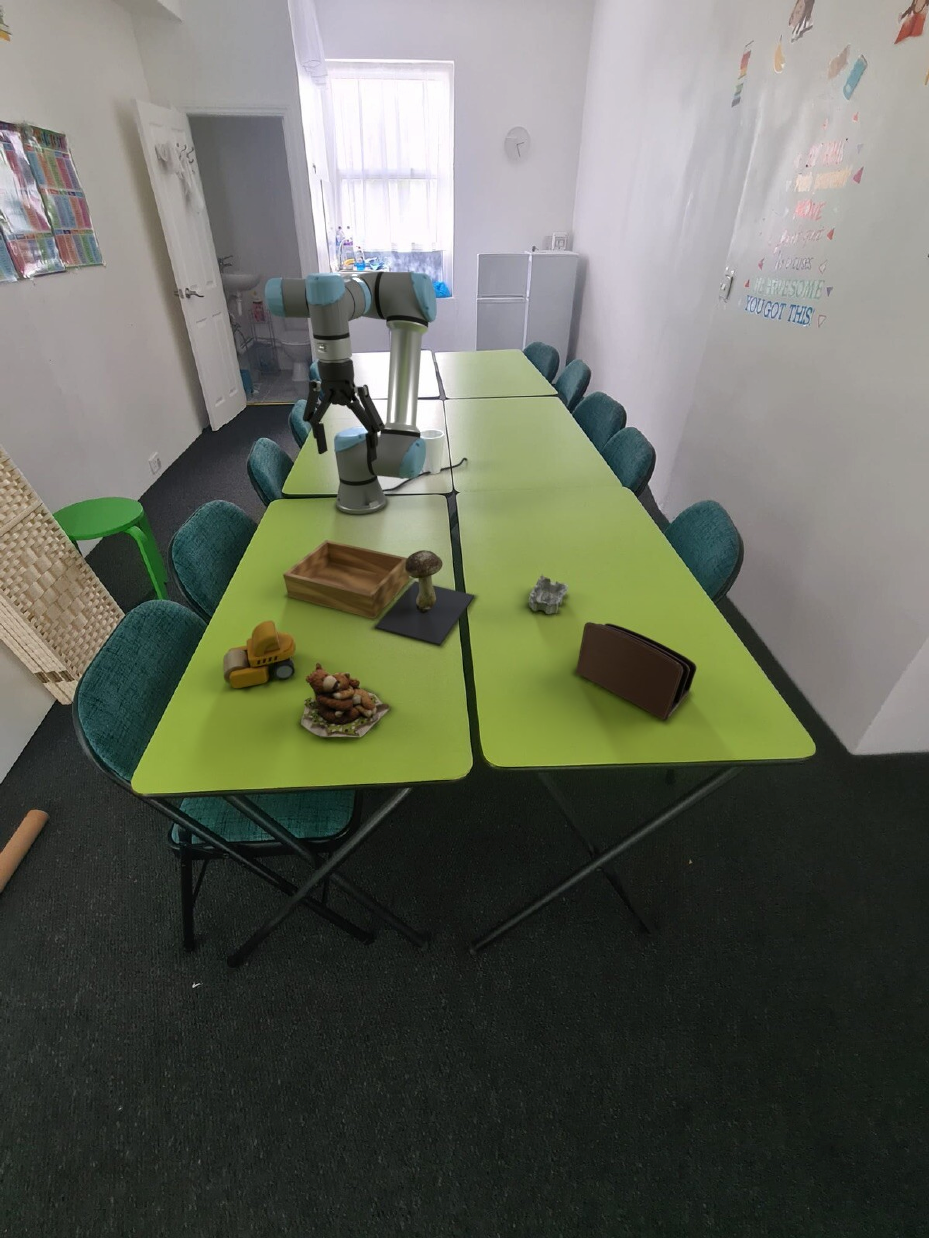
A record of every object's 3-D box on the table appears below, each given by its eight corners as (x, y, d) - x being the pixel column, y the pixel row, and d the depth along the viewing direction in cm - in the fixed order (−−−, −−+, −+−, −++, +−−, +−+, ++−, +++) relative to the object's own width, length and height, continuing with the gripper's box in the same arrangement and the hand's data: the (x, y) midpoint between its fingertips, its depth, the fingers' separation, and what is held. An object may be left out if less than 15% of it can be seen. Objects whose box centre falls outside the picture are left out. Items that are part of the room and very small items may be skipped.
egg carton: (540, 586, 139) (541, 572, 136) (569, 594, 136) (571, 580, 134) (524, 609, 131) (525, 594, 129) (554, 617, 128) (556, 603, 126)
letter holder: (665, 722, 103) (683, 665, 94) (574, 673, 113) (583, 618, 105) (689, 693, 109) (708, 637, 100) (600, 649, 119) (610, 595, 111)
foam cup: (416, 474, 195) (413, 437, 187) (422, 464, 202) (420, 428, 194) (442, 476, 193) (441, 439, 186) (447, 466, 201) (446, 430, 193)
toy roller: (226, 665, 116) (212, 625, 109) (296, 649, 120) (287, 610, 113) (227, 694, 109) (213, 653, 103) (302, 676, 113) (292, 635, 107)
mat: (415, 583, 140) (415, 581, 140) (474, 597, 135) (474, 595, 135) (375, 628, 125) (374, 626, 125) (439, 646, 120) (439, 643, 120)
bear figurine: (360, 753, 97) (352, 704, 90) (289, 728, 102) (276, 679, 94) (397, 701, 107) (392, 653, 100) (331, 680, 112) (322, 633, 104)
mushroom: (438, 624, 126) (436, 567, 116) (402, 619, 127) (397, 563, 118) (448, 600, 133) (447, 545, 124) (413, 596, 134) (409, 541, 125)
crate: (329, 560, 149) (326, 539, 145) (409, 579, 141) (408, 558, 138) (288, 596, 136) (282, 574, 132) (374, 619, 128) (371, 596, 124)
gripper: (275, 357, 119) (293, 454, 132) (377, 368, 112) (386, 470, 125) (296, 350, 125) (312, 444, 138) (394, 360, 117) (402, 458, 130)
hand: (347, 456), depth 131 cm, fingers open, 13 cm apart
